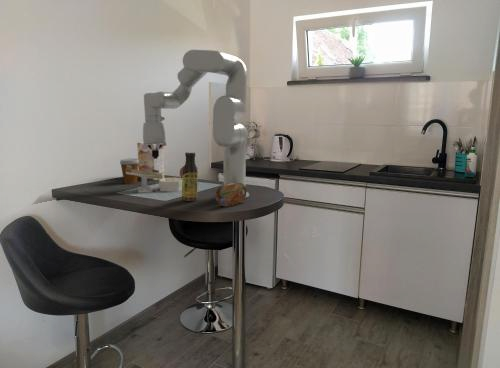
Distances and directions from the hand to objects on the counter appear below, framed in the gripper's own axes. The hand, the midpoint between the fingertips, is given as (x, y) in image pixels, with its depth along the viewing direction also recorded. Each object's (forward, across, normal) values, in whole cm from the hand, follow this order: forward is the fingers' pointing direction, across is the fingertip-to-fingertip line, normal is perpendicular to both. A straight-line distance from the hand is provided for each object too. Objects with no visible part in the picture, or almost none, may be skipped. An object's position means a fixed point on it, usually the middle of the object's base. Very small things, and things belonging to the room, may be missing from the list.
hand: (155, 158), depth 178 cm
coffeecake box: (+14, 0, -29) cm, 32 cm away
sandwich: (+16, -23, +45) cm, 53 cm away
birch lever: (+7, +6, +4) cm, 10 cm away
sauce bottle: (+15, -9, +33) cm, 38 cm away
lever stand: (+14, +7, +7) cm, 17 cm away
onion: (+14, -17, -9) cm, 24 cm away
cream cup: (+14, -6, +7) cm, 17 cm away
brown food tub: (+14, +12, -17) cm, 25 cm away
